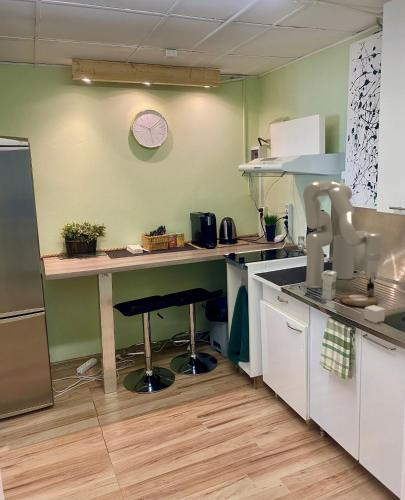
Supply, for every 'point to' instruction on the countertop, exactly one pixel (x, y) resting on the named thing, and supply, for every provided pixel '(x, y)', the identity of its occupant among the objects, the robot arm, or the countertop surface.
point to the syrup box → (328, 285)
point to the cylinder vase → (343, 258)
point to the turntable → (359, 298)
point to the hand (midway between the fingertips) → (370, 291)
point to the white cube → (374, 313)
